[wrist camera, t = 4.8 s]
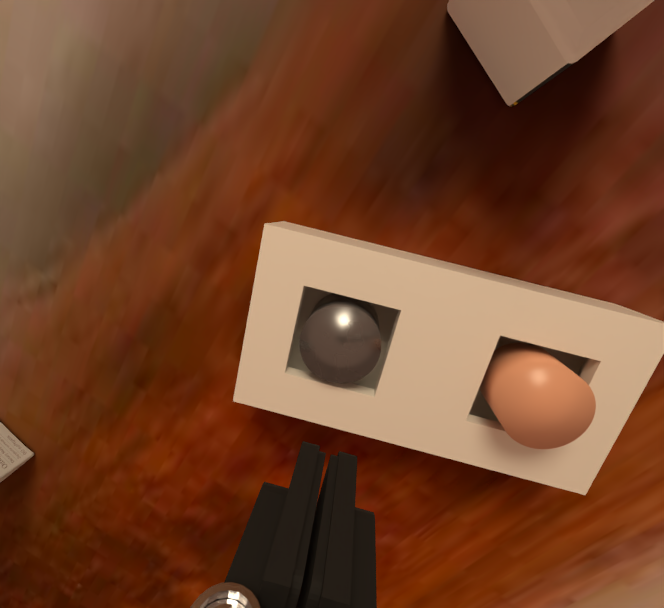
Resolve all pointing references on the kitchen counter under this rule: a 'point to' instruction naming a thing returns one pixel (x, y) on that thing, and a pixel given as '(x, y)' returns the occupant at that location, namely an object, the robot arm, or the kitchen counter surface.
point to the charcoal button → (341, 339)
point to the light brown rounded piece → (537, 396)
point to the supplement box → (11, 453)
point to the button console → (438, 352)
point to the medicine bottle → (536, 36)
